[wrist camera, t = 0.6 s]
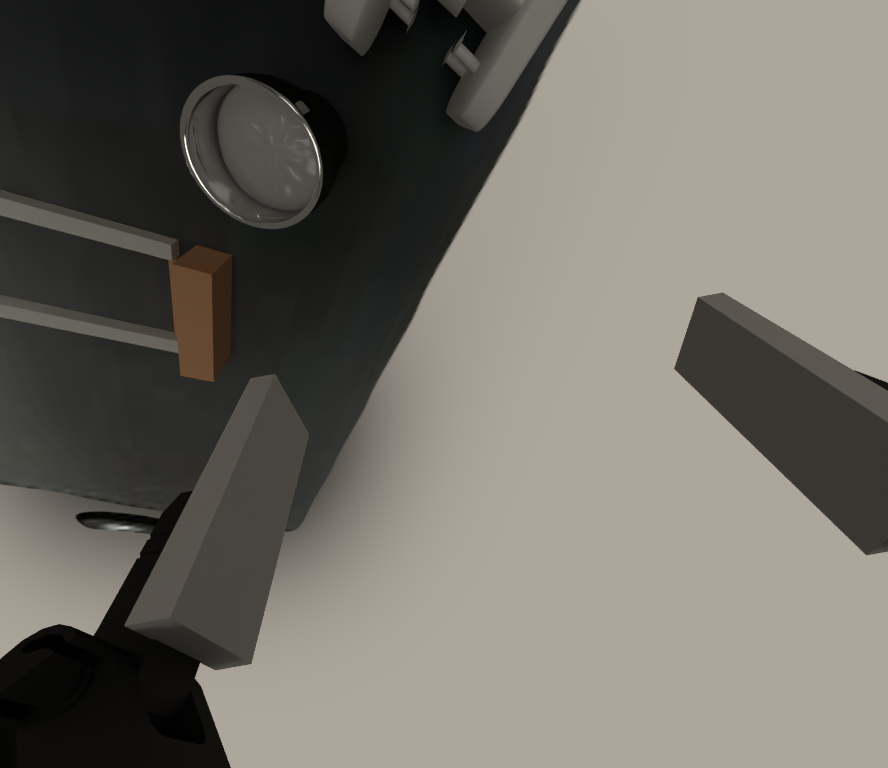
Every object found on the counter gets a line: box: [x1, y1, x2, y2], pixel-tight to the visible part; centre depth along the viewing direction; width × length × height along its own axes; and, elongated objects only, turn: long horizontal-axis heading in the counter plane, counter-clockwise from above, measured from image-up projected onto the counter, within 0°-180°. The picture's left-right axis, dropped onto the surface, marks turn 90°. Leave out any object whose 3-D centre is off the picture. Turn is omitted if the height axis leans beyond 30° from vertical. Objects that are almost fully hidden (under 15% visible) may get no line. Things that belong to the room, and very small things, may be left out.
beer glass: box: [180, 73, 348, 229], centre depth 24 cm, size 7×7×15 cm
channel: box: [0, 190, 232, 382], centre depth 31 cm, size 30×12×5 cm, turn 70°
